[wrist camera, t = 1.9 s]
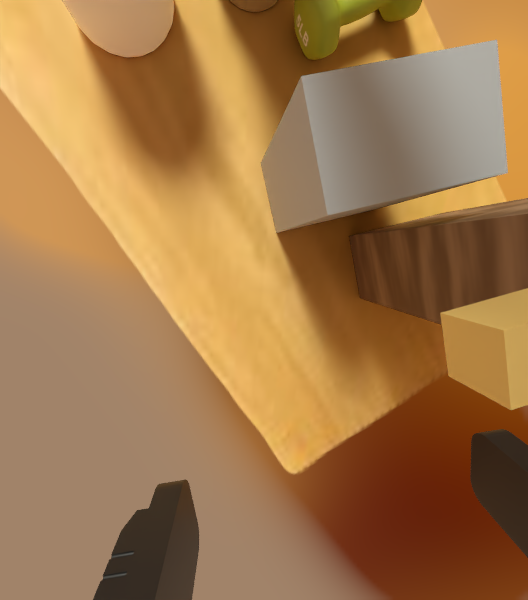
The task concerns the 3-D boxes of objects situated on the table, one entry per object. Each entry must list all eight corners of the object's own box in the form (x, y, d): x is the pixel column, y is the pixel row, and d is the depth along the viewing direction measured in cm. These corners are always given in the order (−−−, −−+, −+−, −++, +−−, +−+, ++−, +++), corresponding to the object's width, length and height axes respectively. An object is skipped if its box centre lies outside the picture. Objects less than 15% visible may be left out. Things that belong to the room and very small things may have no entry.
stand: (360, 298, 49) (610, 379, 18) (349, 236, 47) (606, 203, 16) (449, 273, 50) (825, 309, 19) (442, 213, 49) (844, 142, 17)
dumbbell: (306, 77, 43) (324, 42, 36) (282, 16, 41) (295, -32, 34) (407, 30, 44) (443, -13, 37) (387, -31, 42) (421, -88, 35)
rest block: (276, 233, 45) (327, 215, 24) (260, 163, 44) (301, 76, 22) (375, 209, 47) (507, 172, 25) (364, 141, 45) (496, 39, 24)
